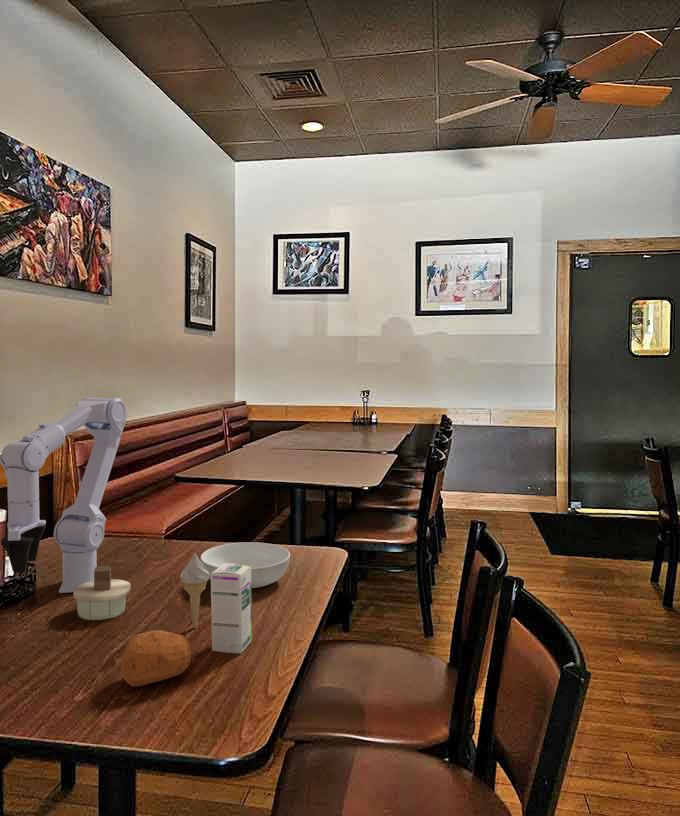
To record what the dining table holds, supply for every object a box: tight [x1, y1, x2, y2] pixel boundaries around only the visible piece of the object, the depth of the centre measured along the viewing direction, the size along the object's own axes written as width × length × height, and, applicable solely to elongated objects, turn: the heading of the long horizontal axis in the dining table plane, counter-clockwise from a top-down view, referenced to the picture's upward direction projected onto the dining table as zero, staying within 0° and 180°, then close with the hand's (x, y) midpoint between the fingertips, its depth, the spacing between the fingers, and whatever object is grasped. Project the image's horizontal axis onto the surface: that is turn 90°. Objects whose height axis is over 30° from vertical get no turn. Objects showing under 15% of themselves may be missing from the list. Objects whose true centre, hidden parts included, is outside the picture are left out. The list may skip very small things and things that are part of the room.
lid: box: [73, 565, 132, 602], centre depth 132 cm, size 11×11×5 cm
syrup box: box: [210, 563, 253, 655], centre depth 117 cm, size 6×6×14 cm
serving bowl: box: [199, 541, 291, 589], centre depth 151 cm, size 21×21×7 cm
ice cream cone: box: [179, 551, 210, 629], centre depth 125 cm, size 6×6×15 cm
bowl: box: [76, 596, 126, 621], centre depth 132 cm, size 9×9×4 cm
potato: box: [120, 629, 193, 687], centre depth 105 cm, size 9×11×8 cm
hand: (24, 566), depth 132 cm, fingers open, 7 cm apart
